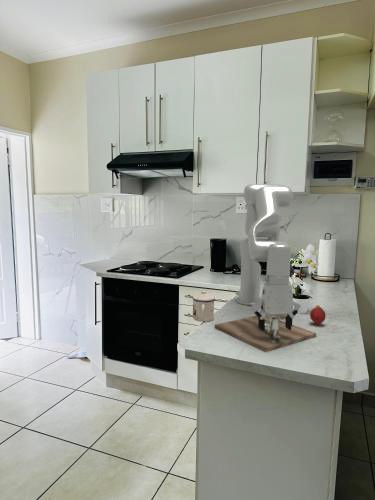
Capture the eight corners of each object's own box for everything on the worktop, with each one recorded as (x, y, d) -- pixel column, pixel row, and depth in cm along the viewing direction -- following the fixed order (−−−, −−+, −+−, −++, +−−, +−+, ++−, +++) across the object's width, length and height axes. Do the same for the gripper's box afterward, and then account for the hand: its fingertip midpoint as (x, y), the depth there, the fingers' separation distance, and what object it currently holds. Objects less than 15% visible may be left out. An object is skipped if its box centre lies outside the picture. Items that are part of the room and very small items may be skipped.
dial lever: (257, 325, 127) (258, 307, 126) (267, 325, 127) (268, 307, 127) (273, 341, 112) (274, 321, 111) (284, 341, 112) (285, 320, 112)
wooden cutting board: (262, 317, 143) (262, 313, 143) (316, 336, 122) (316, 332, 122) (214, 327, 129) (214, 324, 129) (265, 352, 107) (266, 347, 107)
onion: (312, 321, 139) (313, 302, 138) (326, 324, 136) (328, 304, 135) (307, 324, 135) (308, 305, 134) (322, 328, 131) (323, 307, 130)
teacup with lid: (192, 314, 144) (193, 288, 143) (214, 315, 144) (215, 288, 142) (190, 324, 133) (191, 294, 131) (214, 325, 132) (214, 295, 130)
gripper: (257, 282, 109) (255, 334, 111) (307, 282, 112) (303, 332, 114) (249, 278, 116) (247, 326, 118) (295, 277, 119) (293, 324, 121)
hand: (274, 329), depth 116 cm, fingers open, 9 cm apart
